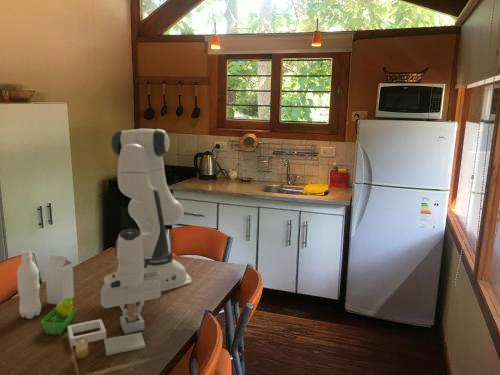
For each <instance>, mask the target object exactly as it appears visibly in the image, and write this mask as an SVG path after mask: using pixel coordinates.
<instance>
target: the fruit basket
mask: <svg viewBox="0 0 500 375" xmlns="http://www.w3.org/2000/svg"><path fill="white" fill-rule="evenodd" d="M73 303H74V302H73V299H71V298H65V299H64V301H62V302H60V303H59V304H58V305H57V304H56V306H55V307H54V308H52V310H51V311H50V312H49V313H48V314H47V315H46V316H44V317H43V319H42V320H40V323H41V325H42V327H43V329H44V332H45V334H46V335H62V334H63V332H64V331H65V330H66V329H68V327H67V326H69V325H70V323H71V322H72V321H73V320H74V316H75V312H76V309H77V308H76V307H74V306H73Z"/></svg>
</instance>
